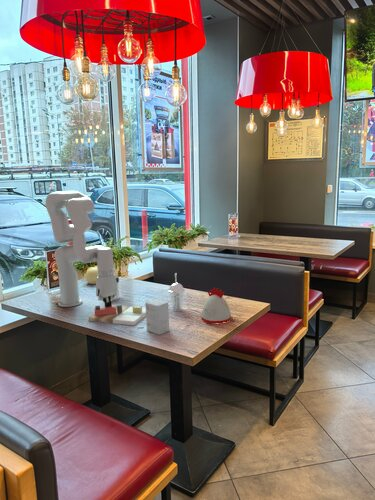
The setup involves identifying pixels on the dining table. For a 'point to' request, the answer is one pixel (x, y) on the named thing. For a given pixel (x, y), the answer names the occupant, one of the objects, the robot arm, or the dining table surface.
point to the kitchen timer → (215, 308)
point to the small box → (157, 316)
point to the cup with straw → (176, 295)
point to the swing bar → (104, 310)
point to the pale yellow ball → (92, 275)
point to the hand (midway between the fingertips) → (108, 309)
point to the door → (130, 316)
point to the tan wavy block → (109, 317)
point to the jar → (117, 289)
